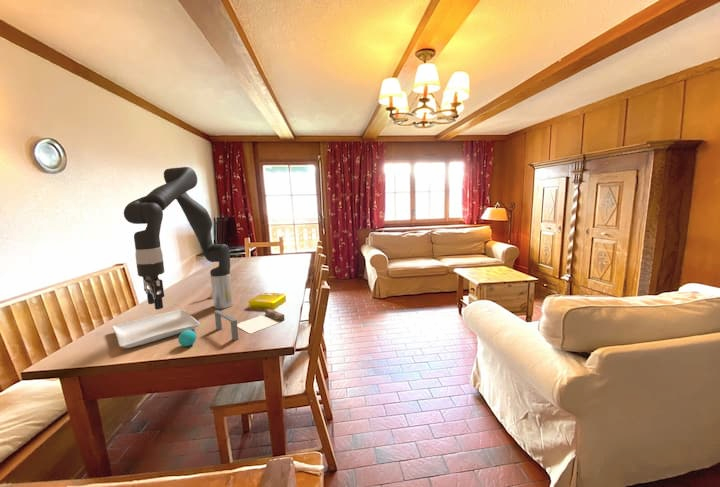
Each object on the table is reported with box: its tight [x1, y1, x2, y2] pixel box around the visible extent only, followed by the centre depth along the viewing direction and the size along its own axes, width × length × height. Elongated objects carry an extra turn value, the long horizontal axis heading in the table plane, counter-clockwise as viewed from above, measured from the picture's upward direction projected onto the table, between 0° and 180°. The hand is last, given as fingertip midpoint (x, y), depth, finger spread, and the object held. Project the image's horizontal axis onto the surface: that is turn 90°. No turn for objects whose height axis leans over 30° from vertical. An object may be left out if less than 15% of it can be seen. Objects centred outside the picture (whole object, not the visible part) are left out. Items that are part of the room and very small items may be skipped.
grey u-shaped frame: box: [214, 309, 239, 341], centre depth 120 cm, size 17×2×8 cm, turn 49°
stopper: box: [264, 309, 285, 322], centre depth 137 cm, size 13×2×2 cm, turn 49°
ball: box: [177, 329, 197, 347], centre depth 111 cm, size 6×6×6 cm
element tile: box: [247, 292, 287, 311], centre depth 155 cm, size 15×15×5 cm
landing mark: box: [237, 314, 280, 335], centre depth 130 cm, size 14×14×1 cm
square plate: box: [111, 308, 201, 349], centre depth 125 cm, size 27×27×4 cm
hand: (155, 306), depth 102 cm, fingers open, 8 cm apart
